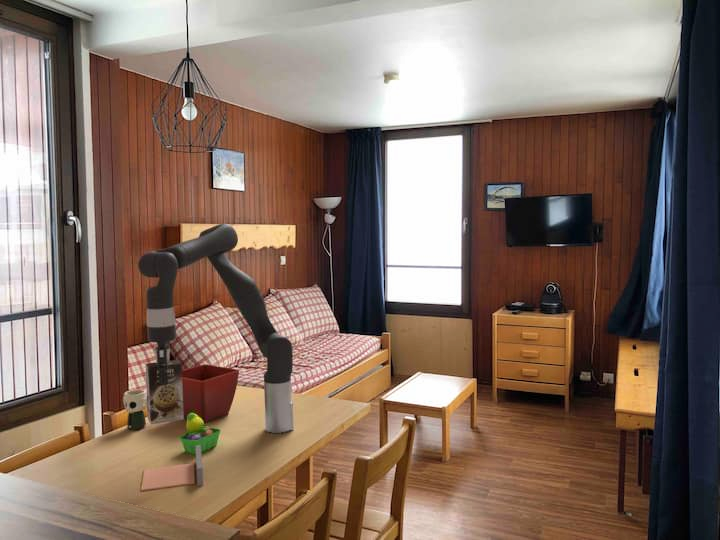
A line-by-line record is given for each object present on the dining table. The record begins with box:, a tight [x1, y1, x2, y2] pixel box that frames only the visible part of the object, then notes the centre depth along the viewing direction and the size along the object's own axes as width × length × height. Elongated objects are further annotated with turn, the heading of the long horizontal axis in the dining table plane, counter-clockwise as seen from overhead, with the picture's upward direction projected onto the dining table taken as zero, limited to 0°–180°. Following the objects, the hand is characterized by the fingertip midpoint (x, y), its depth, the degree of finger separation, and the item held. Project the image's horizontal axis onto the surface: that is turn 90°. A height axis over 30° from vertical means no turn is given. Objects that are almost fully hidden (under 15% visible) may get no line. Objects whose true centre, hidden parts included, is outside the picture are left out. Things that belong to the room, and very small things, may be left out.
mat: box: [140, 462, 196, 492], centre depth 170 cm, size 14×14×1 cm
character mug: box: [122, 389, 147, 430], centre depth 212 cm, size 11×7×13 cm, turn 66°
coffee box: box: [145, 359, 185, 425], centre depth 168 cm, size 9×6×16 cm
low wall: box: [195, 445, 204, 487], centre depth 172 cm, size 2×18×5 cm, turn 16°
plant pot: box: [182, 364, 240, 424], centre depth 223 cm, size 19×19×17 cm
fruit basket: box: [179, 413, 221, 455], centre depth 191 cm, size 11×9×11 cm
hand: (164, 381), depth 167 cm, fingers closed on coffee box, 7 cm apart
